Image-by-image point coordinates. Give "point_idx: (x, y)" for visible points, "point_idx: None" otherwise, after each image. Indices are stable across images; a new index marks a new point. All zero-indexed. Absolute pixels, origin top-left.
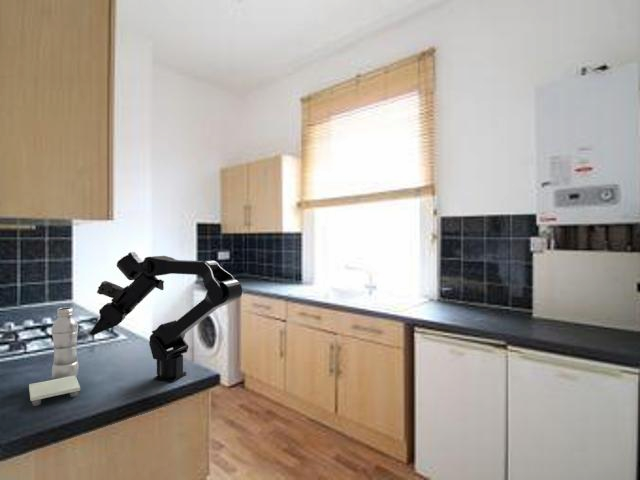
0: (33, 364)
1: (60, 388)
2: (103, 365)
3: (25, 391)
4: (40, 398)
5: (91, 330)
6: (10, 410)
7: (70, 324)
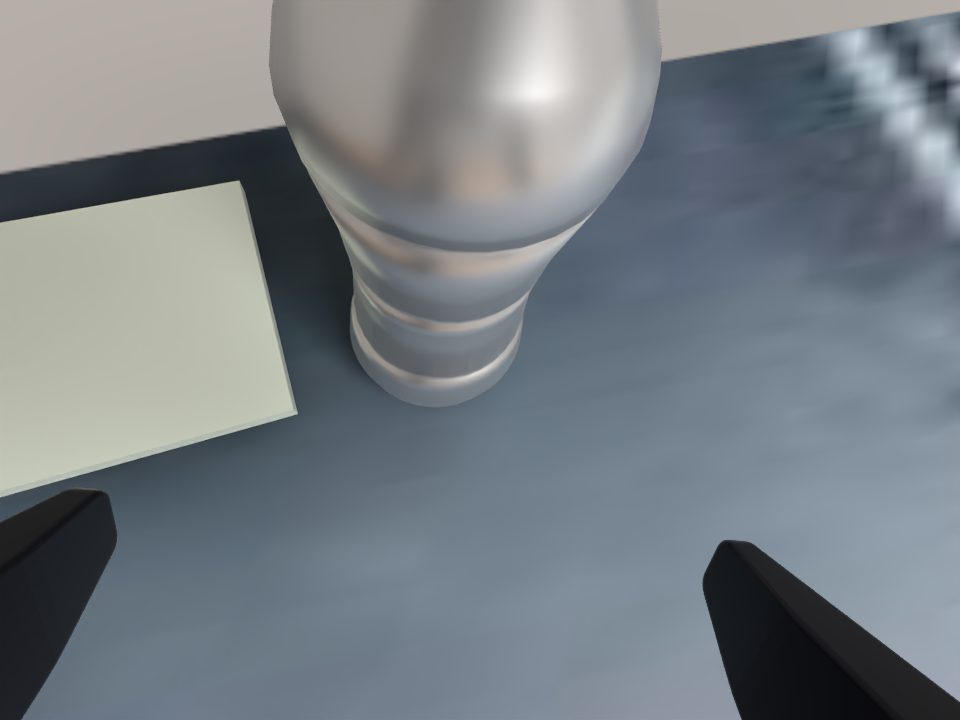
0: (744, 148)
1: (37, 366)
2: (644, 536)
3: (310, 191)
4: None
5: (9, 520)
6: (41, 183)
7: (322, 75)
